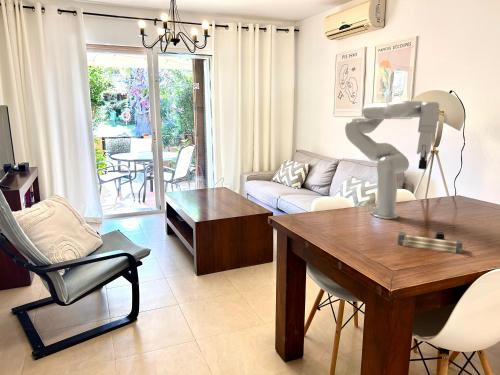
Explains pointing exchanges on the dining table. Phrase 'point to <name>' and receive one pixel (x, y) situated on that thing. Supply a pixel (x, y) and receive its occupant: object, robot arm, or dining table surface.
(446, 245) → the striped bar with caps
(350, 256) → the dining table surface
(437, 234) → the black block
